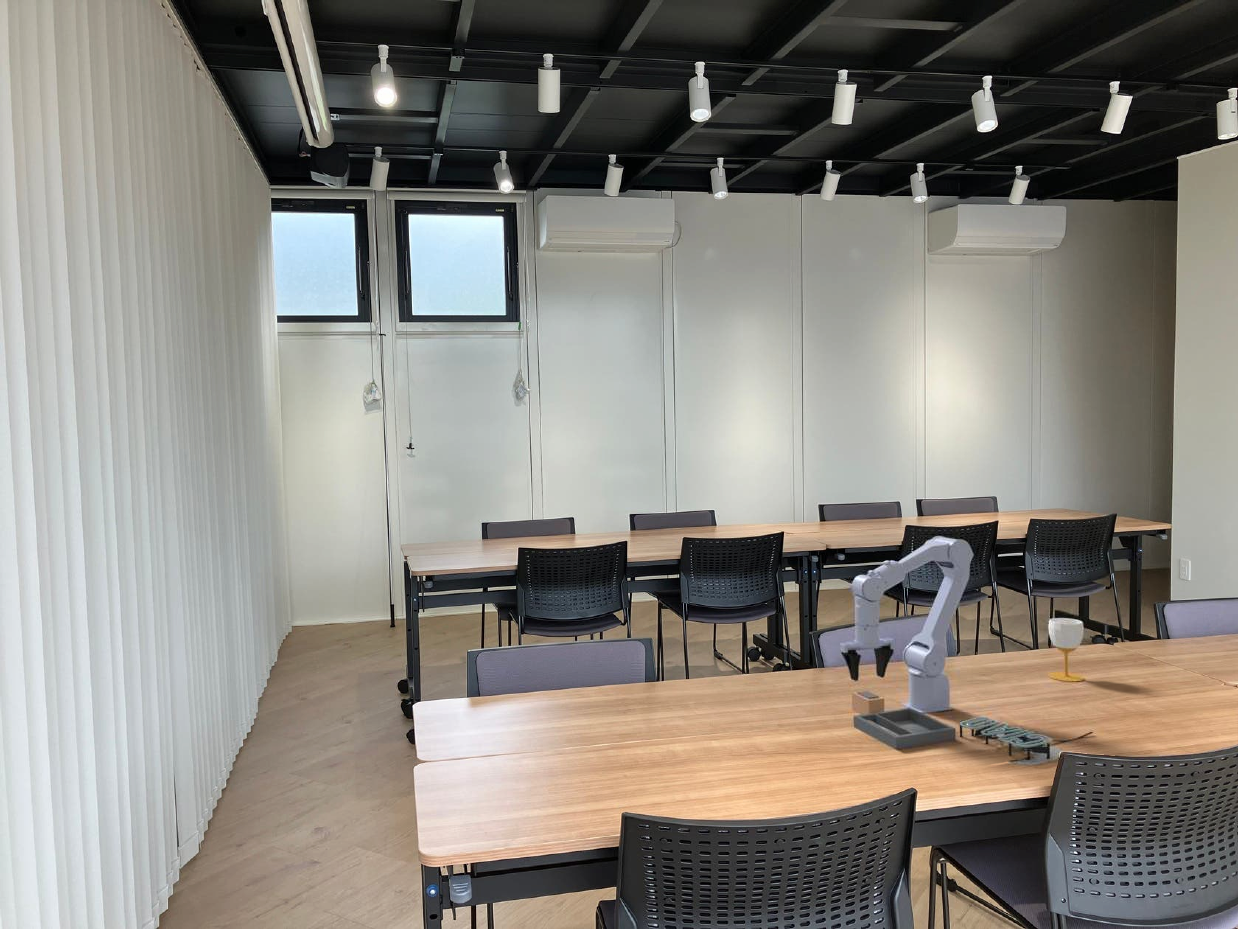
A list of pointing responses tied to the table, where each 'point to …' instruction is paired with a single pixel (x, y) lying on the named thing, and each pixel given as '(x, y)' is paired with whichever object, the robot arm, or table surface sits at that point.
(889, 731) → the rod
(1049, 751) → the neon sign
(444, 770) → the table surface
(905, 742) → the grey divided tray
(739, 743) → the table surface
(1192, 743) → the table surface
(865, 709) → the block
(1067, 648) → the cup
